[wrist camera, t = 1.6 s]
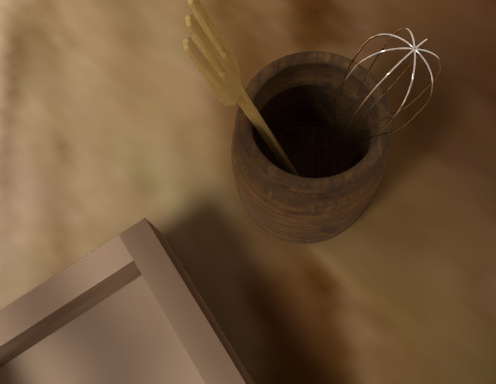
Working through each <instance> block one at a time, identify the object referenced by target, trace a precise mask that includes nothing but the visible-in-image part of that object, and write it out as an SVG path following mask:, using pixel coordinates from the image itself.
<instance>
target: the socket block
mask: <svg viewBox="0 0 496 384" xmlns="http://www.w3.org/2000/svg"><path fill="white" fill-rule="evenodd" d="M0 384H255V383H254V382H253V380H252V378H251V377H250V375H249V373H248V372H247V370H246V369H245V367H244V365H243V364H242V362H241V360H240V359H239V357H238V356H237V354H236V352H235V351H234V349H233V347H232V346H231V344H230V343H229V341H228V339H227V338H226V336H225V334H224V333H223V331H222V329H221V328H220V326H219V325H218V323H217V321H216V320H215V318H214V316H213V315H212V313H211V312H210V310H209V308H208V307H207V305H206V303H205V302H204V300H203V299H202V297H201V295H200V294H199V292H198V290H197V289H196V287H195V286H194V284H193V282H192V281H191V279H190V277H189V276H188V274H187V273H186V271H185V269H184V268H183V266H182V264H181V263H180V261H179V260H178V258H177V256H176V255H175V253H174V251H173V250H172V248H171V247H170V245H169V243H168V242H167V240H166V238H165V237H164V235H163V234H162V233H161V232H160V231H159V230H157V229H156V228H155V227H154V226H153V225H152V224H151V223H150V222H149V221H148V220H147V219H146V218H145V219H143V220H141V221H140V222H138V223H137V224H135V225H134V226H132V227H130V228H129V229H127V230H126V231H124V232H123V233H121V234H119V235H118V236H116V237H115V238H113V239H112V240H110V241H108V242H107V243H105V244H104V245H102V246H101V247H99V248H97V249H96V250H94V251H93V252H91V253H90V254H88V255H86V256H85V257H83V258H82V259H80V260H79V261H77V262H75V263H74V264H72V265H71V266H69V267H68V268H66V269H64V270H63V271H61V272H60V273H58V274H57V275H55V276H53V277H52V278H50V279H49V280H47V281H45V282H44V283H42V284H41V285H39V286H38V287H36V288H34V289H33V290H31V291H30V292H28V293H27V294H25V295H23V296H22V297H20V298H19V299H17V300H16V301H14V302H12V303H11V304H9V305H8V306H6V307H5V308H3V309H1V310H0Z"/></svg>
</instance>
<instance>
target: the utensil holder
mask: <svg viewBox="0 0 496 384" xmlns="http://www.w3.org/2000/svg"><path fill="white" fill-rule="evenodd" d="M188 4H189V5H190V7H191V9H192V10H193V12H194V14H195V15H196V17H197V19H198V20H199V22H200V24H201V25H202V27H203V29H204V30H205V32H206V33H205V32H204V31H203V29H202V28H201V26H200V25H199V24H198V22H197V21H196V19H195V18H194V16H193V15H191V14H190V15H186V17H185V22H186V26H187V27H188V29H189V30H190V32H191V34H192V35H193V37H194V38H195V40H196V41H197V43H198V44H199V46H200V48H201V49H202V51H203V52H204V54H205V55H206V57H207V58H208V60H209V61H208V60H207V59H206V57H205V56H204V55H203V53H202V52H201V51H200V49H199V48H198V47H197V46H196V44H195V43H194V42H193V40H192V39H191V38H190V37H188V38H184V40H183V45H184V49H185V50H186V52H187V53H188V55H189V56H190V57H191V59H192V60H193V62H194V63H195V65H196V66H197V67H198V69H199V70H200V72H201V73H202V75H203V76H204V77H205V79H206V80H207V82H208V83H209V85H210V86H211V87H212V89H213V90H214V92H215V93H216V95H217V96H218V97H219V99H220V100H221V101H222V103H223V104H224V105H225V106H226V107H228V106H235V105H236V104H237V103H238V104H239V107H238V111H237V117H236V124H235V130H234V134H233V139H232V165H233V171H234V175H235V179H236V183H237V187H238V191H239V194H240V197H241V200H242V202H243V204H244V206H245V208H246V210H247V212H248V213H249V215H250V216H251V217H252V219H253V220H254V221H255V222H256V223H257V224H258V225H259V226H260V227H261V228H262V229H264V230H265V231H266V232H268V233H269V234H271V235H273V236H275V237H277V238H279V239H282V240H285V241H288V242H293V243H304V244H307V243H317V242H321V241H325V240H328V239H330V238H332V237H334V236H336V235H338V234H340V233H342V232H343V231H345V230H346V229H347V228H348V227H350V226H351V225H352V224H353V223H354V222H355V221H356V220H357V218H358V217H359V216H360V215H361V214H362V212H363V211H364V209H365V208H366V206H367V205H368V204H369V202H370V201H371V199H372V198H373V196H374V194H375V192H376V191H377V189H378V187H379V185H380V183H381V181H382V178H383V175H384V172H385V169H386V164H387V157H388V149H389V145H390V140H391V133H392V132H394V131H397V130H399V129H400V128H402V127H404V126H405V125H406V124H408V123H409V122H410V121H411V120H412V119H413V118H414V117H415V116H416V115H417V114H418V113H419V112H420V111H421V110H422V109H423V108H424V106H425V105H426V104H427V103H428V101H429V100H430V98H431V95H432V92H433V81H434V80H435V79H436V77H437V76H438V75H439V73H440V71H441V61H440V59H439V57H438V56H437V55H435V54H434V53H432V52H430V51H427V50H424V48H425V46H426V45H427V44H428V42H429V38H427V39H425V40H424V41H422V42H421V43H420V44H418V45H417V46H416V47H415V41H414V37H413V34H412V32H411V31H410V30H409V29H408V28H401V29H399V30H397V31H396V32H395V33H394V34H393V35H392V34H378V35H374V36H372V37H370V38H369V39H368V40H367V41H366V42H365V43H364V44H363V45H362V47H361V48H360V49H359V51H358V52H357V54H356V55H355V57H354V58H353V60H350V59H348V58H345V57H343V56H340V55H337V54H333V53H328V52H319V51H308V52H300V53H295V54H291V55H287V56H285V57H282V58H280V59H278V60H276V61H274V62H272V63H270V64H269V65H267V66H266V67H265V68H263V69H262V70H261V71H260V72H259V73H258V74H257V75H256V76H255V77H254V78H253V79H252V80H251V82H250V83H249V84H248V86H247V88H246V89H245V90H244V89H243V87H242V84H241V80H240V72H239V65H238V61H237V58H236V56H235V54H234V53H233V51H232V50H231V48H230V46H229V45H228V43H227V42H226V40H225V39H224V37H223V36H222V34H221V33H220V31H219V30H218V28H217V27H216V25H215V24H214V22H213V21H212V19H211V18H210V16H209V15H208V13H207V11H206V10H205V8H204V7H203V5H202V4H201V2H200V1H199V0H188ZM401 30H407V31H408V32H409V33H410V35H411V37H412V41H413V46H412V45H411V44H410V43H409V42H407V41H406V40H404V39H402V38H400V37H398V36H396V35H395V34H396V33H397V32H399V31H401ZM206 34H207V35H206ZM383 35H387V36H392V37H391V38H390V39H389V40H388V42H387V43H386V44H385V46H384V47H383V48H382V50H381V51H380V52H377V53H374V54H372V55H370V56H368V57H366V58H365V59H363V60H361V61H360V62H359V63H358V64H357V63H356V62H354V60H355V58H356V57H357V55H358V54H359V52H360V51H361V49H362V48H363V47H364V45H365V44H366V43H367V42H368V41H369V40H370V39H372V38H374V37H377V36H383ZM208 37H209V38H208ZM393 37H395V38H398V39H400V40H402V41H404V42H405V43H406V44H408V45H409V46H410V47H411V48H407V47H405V48H392V49H387V50H384V48H385V47H386V46H387V44H388V43H389V42H390V40H391V39H392V38H393ZM425 41H427V42H426V43H425V45H424V46H423V47H422V49H418V47H419V46H420V45H421V44H423V43H424V42H425ZM400 49H408V50H411V51H410V52H409V53H408V54H407V55H406V56H405V57H404V58H403V59H402V60H401V61H400V62H399V63H397V64H396V65H395V66H394V67H393V68H392V69H391V70H390V71H389V72H388V74H387V75H386V76H385V77H384V78H383V79H382V80H381V81H380V82H379V83H378V81H377V80H376V79H375V78H374V77H373V76H372V75H371V74H370V73H369V72H370V70H371V68H372V66H373V65H374V63H375V61H376V60H377V58H378V57H379V55H380V54H381V53H383V52H386V51H391V50H400ZM417 50H418V51H419V52H418V51H417ZM413 51H414V59H413V60H412V61H411V62H410V63H409V65H408V66H407V67H406V68H405V69H404V71H403V72H402V73H401V74H400V75H399V77H398V78H397V79H396V80H395V81H394V82H393V83H392V84H391V86H390V87H389V88H388V89H387V90H386V91H385V92H384V91H383V89H382V87H381V86H380V84H381V83H382V81H383V80H384V79H385V78H386V77H387V76H388V75H389V74H390V73H391V72H392V71H393V70H394V69H395V68H396V67H397V66H398V65H399V64H400V63H401V62H402V61H403V60H404V59H405V58H406V57H408V56H409V55H410V54H411V53H412V52H413ZM421 51H423V52H427V53H430V54H432V55H433V56H435V57H436V58H437V59H438V61H439V71H438V73H437V75H436V76H435V77H434V79H433V77H432V73H431V70H430V67H429V65H428V63H427V62H426V60H425V59H424V57H423V56H422V55H421V54H420V53H421ZM416 52H417V53H418V54H417V55H416ZM377 54H378V55H377ZM374 55H377V57H376V58H375V60H374V62H373V63H372V65H371V67H370V69H369V70H368V71H367V70H366V69H365V68H363V67H362V66H360V65H359V64H360V63H362V62H363V61H365V60H366V59H368V58H370V57H372V56H374ZM418 55H419V56H420V57H421V58H422V59H423V61H424V62H425V64H426V66H427V68H428V70H429V73H430V77H431V82H430V83H429V84H428V85H427V86H426V88H425V89H424V90H423V91H422V92H421V93H420V94H419V95H418V96H417V97H416V98H415V99H414V100H412V101H411V102H410V103H409V104H407V105H406V106H405V107H403V105H404V103H405V101H406V99H407V97H408V94H409V92H410V89H411V86H412V82H413V78H414V73H415V65H416V57H417V56H418ZM413 61H414V66H413V73H412V78H411V82H410V86H409V89H408V92H407V94H406V97H405V99H404V101H403V103H402V105H401V106H400V108H399V109H398V111H397V112H395V113H393V114H392V115H391V109H390V105H389V102H388V99H387V97H386V94H385V93H386V92H387V91H388V90H389V89H390V88H391V87H392V86H393V84H394V83H395V82H396V81H397V80H398V79H399V78H400V76H401V75H402V74H403V73H404V72H405V71H406V69H407V68H408V67H409V66H410V65H411V63H412V62H413ZM209 62H210V63H211V64H210V63H209ZM430 84H431V92H430V96H429V98H428V100H427V101H426V102H425V104H424V105H423V106H422V107H421V108H420V109H419V110H418V112H417V113H416V114H415V115H414V116H413V117H412V118H411V119H410V120H409V121H407V122H406V123H405V124H404V125H402V126H401V127H399V128H397V129H395V130H393V131H392V119H393V118H394V117H395V116H396V115H397V113H398V112H400V111H401V110H403V109H404V108H406V107H407V106H409V105H410V104H411V103H412V102H414V101H415V100H416V99H417V98H418V97H419V96H420V95H421V94H422V93H423V92H424V91H425V90H426V89H427V88H428V87H429V86H430ZM402 107H403V108H402ZM401 108H402V109H401ZM392 116H393V117H392Z"/></svg>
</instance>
